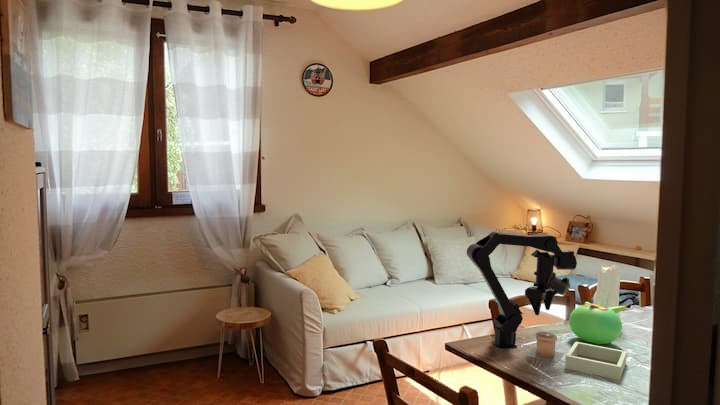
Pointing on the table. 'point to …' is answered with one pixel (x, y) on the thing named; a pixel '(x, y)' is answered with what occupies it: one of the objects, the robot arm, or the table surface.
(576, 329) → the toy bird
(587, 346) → the pale green square tray
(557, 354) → the slate pad
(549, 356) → the terracotta pot
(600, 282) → the decorative vase
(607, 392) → the table surface
